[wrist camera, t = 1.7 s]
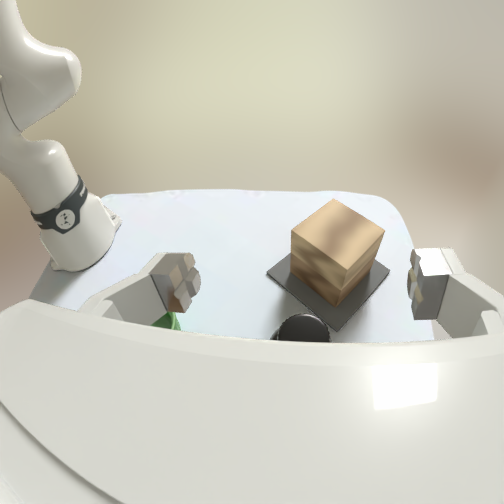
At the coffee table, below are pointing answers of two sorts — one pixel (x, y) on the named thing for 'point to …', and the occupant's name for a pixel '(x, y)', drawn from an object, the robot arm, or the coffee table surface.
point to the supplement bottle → (302, 330)
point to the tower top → (336, 242)
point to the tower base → (322, 284)
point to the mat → (319, 304)
